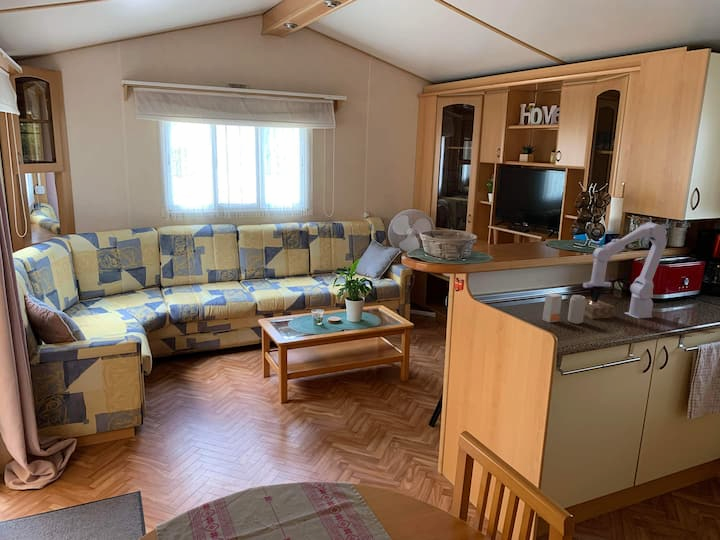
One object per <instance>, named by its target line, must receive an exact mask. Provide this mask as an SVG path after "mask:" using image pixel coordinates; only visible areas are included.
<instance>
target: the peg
mask: <svg viewBox="0 0 720 540" xmlns="http://www.w3.org/2000/svg"><path fill="white" fill-rule="evenodd" d="M589 304H591V305H599V302H598V301H597V302H592V300H590V301H589Z"/></svg>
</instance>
